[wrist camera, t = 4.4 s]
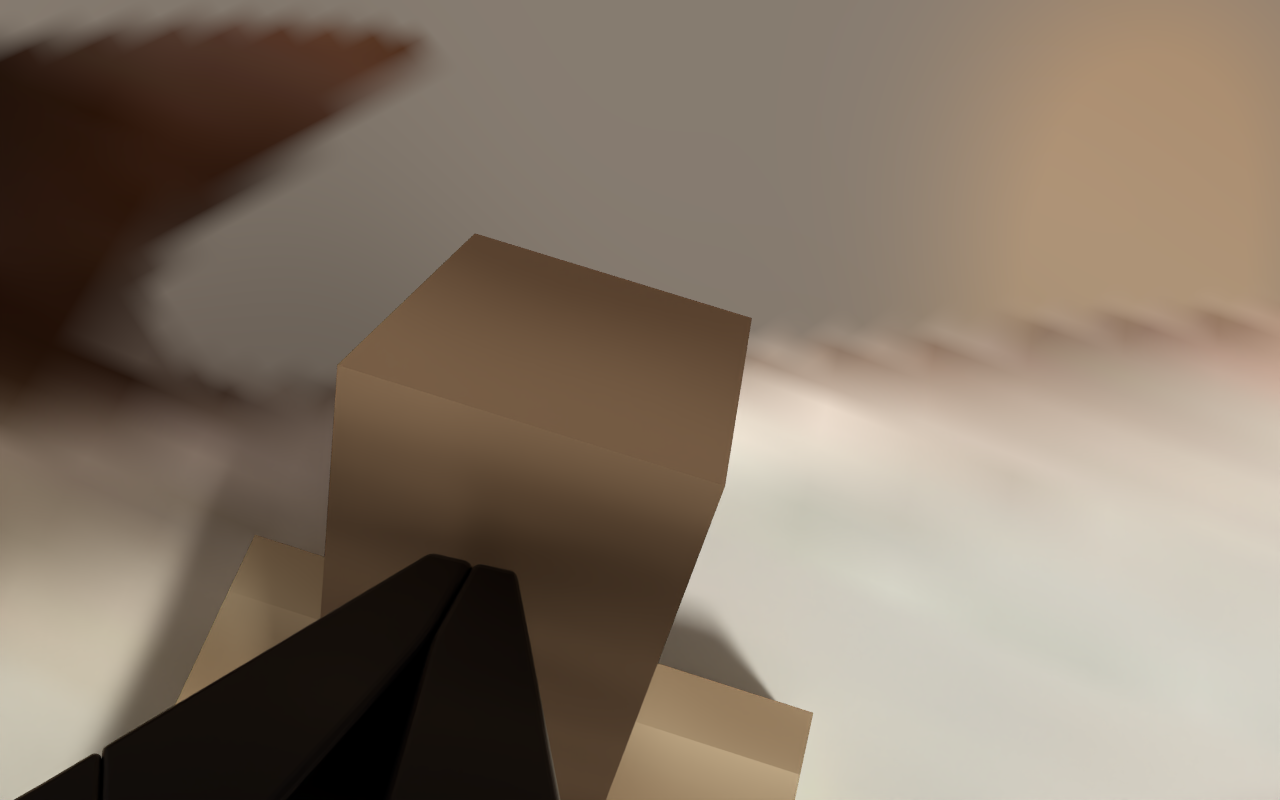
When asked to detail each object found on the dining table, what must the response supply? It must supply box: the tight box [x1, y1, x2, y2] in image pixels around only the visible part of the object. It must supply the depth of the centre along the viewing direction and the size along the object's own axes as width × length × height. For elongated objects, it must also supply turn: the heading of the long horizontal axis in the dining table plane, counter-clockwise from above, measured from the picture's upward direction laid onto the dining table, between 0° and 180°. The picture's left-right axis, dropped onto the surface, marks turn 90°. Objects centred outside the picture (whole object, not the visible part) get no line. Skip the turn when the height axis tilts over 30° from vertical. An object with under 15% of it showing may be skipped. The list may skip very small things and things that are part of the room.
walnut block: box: [320, 234, 752, 800], centre depth 11 cm, size 4×4×10 cm
